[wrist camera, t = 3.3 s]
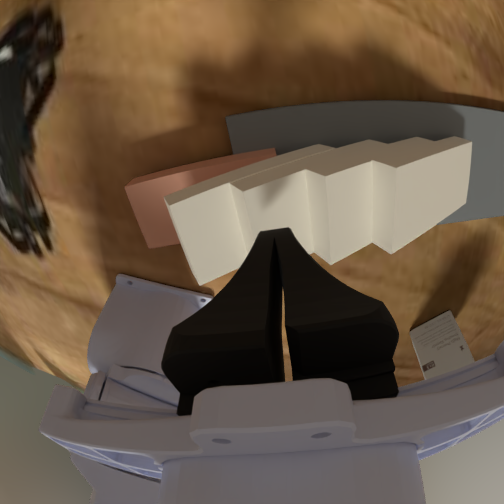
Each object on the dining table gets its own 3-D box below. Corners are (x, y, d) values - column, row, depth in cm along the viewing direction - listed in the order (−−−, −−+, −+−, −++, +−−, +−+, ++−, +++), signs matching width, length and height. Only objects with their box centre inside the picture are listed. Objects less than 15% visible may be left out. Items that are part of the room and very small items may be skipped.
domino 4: (450, 195, 18) (371, 242, 16) (454, 136, 15) (372, 160, 13) (465, 203, 17) (391, 254, 14) (472, 141, 14) (396, 167, 12)
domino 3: (415, 200, 19) (313, 251, 16) (417, 136, 16) (304, 168, 13) (431, 207, 17) (330, 264, 15) (435, 141, 15) (325, 176, 12)
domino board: (254, 244, 22) (254, 249, 22) (226, 116, 17) (225, 117, 16) (508, 210, 19) (512, 214, 19) (520, 114, 14) (525, 117, 13)
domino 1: (325, 212, 20) (191, 271, 17) (318, 143, 17) (163, 196, 14) (340, 220, 18) (199, 286, 16) (335, 148, 16) (169, 205, 13)
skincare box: (449, 307, 27) (490, 392, 17) (452, 326, 29) (486, 403, 19) (406, 331, 29) (437, 421, 19) (412, 348, 31) (438, 429, 21)
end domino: (285, 215, 20) (155, 237, 21) (274, 147, 17) (133, 178, 18) (287, 227, 19) (149, 248, 20) (276, 154, 16) (124, 187, 17)
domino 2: (371, 205, 19) (249, 263, 16) (369, 139, 16) (229, 183, 14) (387, 213, 18) (262, 277, 15) (387, 143, 15) (243, 191, 12)
